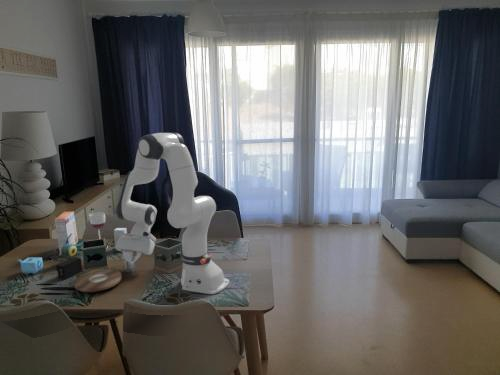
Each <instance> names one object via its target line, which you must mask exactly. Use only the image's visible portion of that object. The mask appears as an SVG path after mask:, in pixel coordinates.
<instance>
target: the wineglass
mask: <svg viewBox="0 0 500 375" xmlns="http://www.w3.org/2000/svg"><path fill="white" fill-rule="evenodd" d="M88 218H89V222H90V226H92V228H94V229H97V231H98V232H97V233H98V240H99V239H101V231H100V229H101V228H103V227H104V226H105V224H106V213H105V212H103V211H98V212H96V211H95V212H91V213H89V214H88ZM108 247H109V246H108V245H107V248H108Z"/></svg>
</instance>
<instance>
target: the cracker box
mask: <svg viewBox="0 0 500 375" xmlns="http://www.w3.org/2000/svg"><path fill="white" fill-rule="evenodd" d="M75 218H76V216H75V211H63V212H62V213H61V214H60V215H59V216H57V217H56V218H54V225H55V230H56V232H55V233H56V239H57V244H58V245H57V246H58V251H59V254H60V253H61V249H62V247H63V246H64V245H65V244H66V240H67V238H68V237H69V235H70V234H72V235H71V236H70V237H69V239H68V242H69V244H73V245H75V244H76V243H77V242H78V241H79V239H78V233H77V225H76V219H75Z"/></svg>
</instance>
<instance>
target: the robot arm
mask: <svg viewBox="0 0 500 375" xmlns="http://www.w3.org/2000/svg"><path fill="white" fill-rule="evenodd" d="M135 156H136V157H135V161H134V167H133V169H132V170H129V172H127V174H126V176H125V179H124V181H123V185H122V189H121V192H120V195H119V199H118V202H117V205H116V208H115V214H116V216H117V218H118V219H119V220H121V221H122V220H124V221H130V222H133V223H134V222H135V224H134V225H133V226H132V229H131V230H130V233H128V232H127V233H124V234H123V235H121V237H120V238H119V240H118V242H117V243H116V245H115V244H114V248H115V250H116V249H117V250H116V251H118V252H122V257H121V260H123V261H125V258H124V251H126V250H131V251H134V254H136V255H134V257H133V259H132V261H133V262H138V261H137V260H138V259H139V258H140V257H141V256H142V255H147V256H150V255H152V254H153V252H154V250H155V246H156V244H155V243H156V242H157V238H156V237H155V236H154V235H153V234H152V233H151V229H152V227H153V225H154V224H155V222H156V217H157V213H158V210H157V208H156V207H155V205H152V204H150V203H149V204H148V203H147V204H145V203H140V202H136V201H134V200H131V196H132V193H133V189H134V187H135V186H138V185H143V184H149V183H151V182H153V181H155V180H156V178H157V177H158V175H159V172H160V162H161V159H163V160H165V162H166V164H167V169H168V172H169V177H170V181H171V185H172V200H171V204H170V207H168V210H167V215H166V216H167V218H166V219H167V221H168V223H169V224H170V225H171V227H173V228H175V229H183V228H186V229H185V230H184V232H183V234H182V236H181V247H182V248H181V249H182V252H181V262H182V271H181V273H182V274H181V279H180V285H181V290H182V291H188V292H193V293H201V294H206V295H207V294H208V295H214V294H217V293H220V292H221V291H223V290H225V289H226V288H227V287H228V285H229V284H230V279H228V278H226V277H225V274H224V272H223V269H221V268H220V266H219V265H217V264H216V263H215V262H213V260H212V258H213V254H209V250H208V230H209V226H210V223H211V220H212V218H213V216H214V214H215V213H216V211H217V204H216V201H215V199H213V197H211V196H209V195H198V196H196V197H195V189H196V188H197V186H198V184H199V180H198V177H197V176H198V175H197V173H196V169H195V166H194V161H193V158H192V156H191V153H190V151H189V149H188V147H187V145H185V140H184V138H183V136H182V135H181V134H180V133H178V132H174V131H172V132H156V133H151V134H146V135H143V136H142V137H140V138H139V140H138V145H137V151H136V155H135Z"/></svg>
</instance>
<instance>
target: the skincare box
mask: <svg viewBox="0 0 500 375" xmlns="http://www.w3.org/2000/svg"><path fill="white" fill-rule="evenodd" d="M127 230H128V229H127V227H116V228H115V229H113V235H114V236H113V237H114V246H115V245H116V243H117V242H118V240H119V238H120V237H121V235H123V234H124V233H127V234H128V231H127ZM115 251H118V250H117V249H116V248H115Z"/></svg>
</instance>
